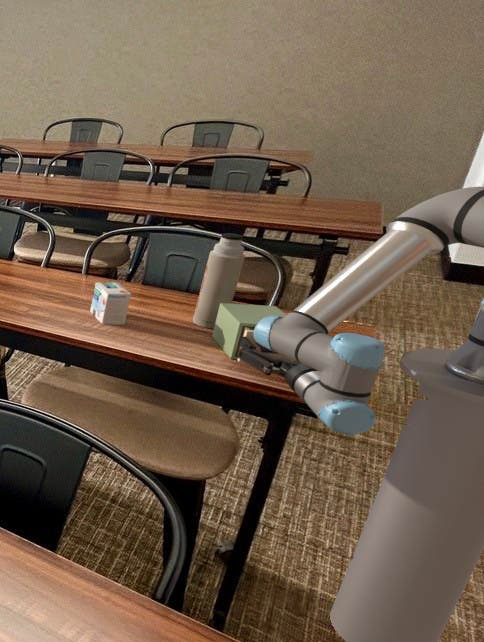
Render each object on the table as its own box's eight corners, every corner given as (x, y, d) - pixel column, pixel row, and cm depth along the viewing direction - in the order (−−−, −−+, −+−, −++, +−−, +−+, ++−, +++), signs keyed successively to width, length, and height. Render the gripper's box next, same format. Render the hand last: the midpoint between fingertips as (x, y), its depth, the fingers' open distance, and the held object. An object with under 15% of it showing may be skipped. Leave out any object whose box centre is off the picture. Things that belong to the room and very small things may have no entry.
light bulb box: (89, 312, 188) (94, 281, 184) (111, 312, 187) (118, 281, 183) (101, 325, 178) (107, 293, 174) (125, 326, 177) (132, 293, 173)
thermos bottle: (187, 322, 176) (209, 234, 166) (199, 316, 180) (222, 229, 169) (218, 331, 169) (243, 240, 159) (230, 324, 173) (255, 235, 163)
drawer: (303, 375, 142) (313, 344, 139) (246, 370, 146) (254, 339, 143) (271, 344, 158) (279, 315, 155) (220, 340, 162) (227, 311, 159)
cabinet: (290, 364, 149) (301, 327, 146) (230, 359, 154) (239, 322, 150) (266, 340, 162) (276, 306, 158) (212, 336, 167) (220, 302, 163)
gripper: (244, 392, 133) (212, 352, 152) (380, 406, 124) (328, 361, 143) (252, 364, 130) (218, 326, 149) (391, 376, 122) (337, 334, 140)
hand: (272, 343), depth 146 cm, fingers closed on drawer, 11 cm apart
